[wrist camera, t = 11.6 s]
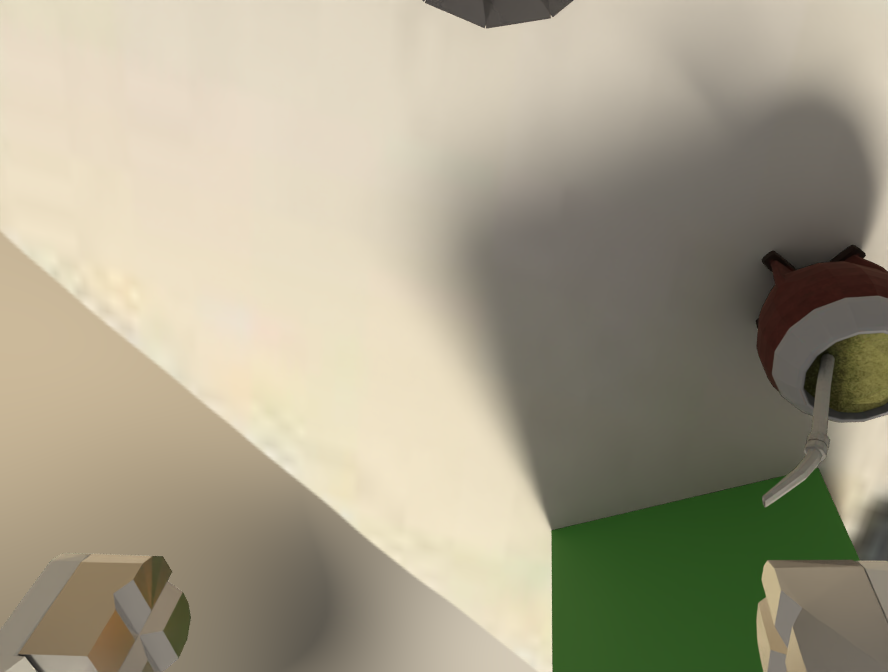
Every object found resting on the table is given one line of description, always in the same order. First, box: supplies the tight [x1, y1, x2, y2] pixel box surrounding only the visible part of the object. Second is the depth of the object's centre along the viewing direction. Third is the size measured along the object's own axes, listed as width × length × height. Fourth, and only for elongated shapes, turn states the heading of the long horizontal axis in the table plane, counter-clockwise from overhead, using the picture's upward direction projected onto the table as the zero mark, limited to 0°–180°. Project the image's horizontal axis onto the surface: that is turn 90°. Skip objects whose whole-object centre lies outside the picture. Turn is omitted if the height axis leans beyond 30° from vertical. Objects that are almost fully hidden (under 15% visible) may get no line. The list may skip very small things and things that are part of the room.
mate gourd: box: [756, 245, 888, 507], centre depth 32 cm, size 8×8×15 cm
